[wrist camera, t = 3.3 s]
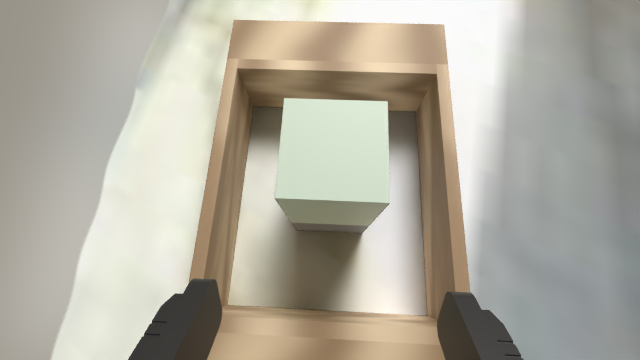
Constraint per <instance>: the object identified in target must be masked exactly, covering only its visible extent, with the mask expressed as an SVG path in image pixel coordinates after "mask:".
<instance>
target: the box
mask: <svg viewBox="0 0 640 360" xmlns="http://www.w3.org/2000/svg"><path fill="white" fill-rule="evenodd" d="M275 200H276V201H277V203H278V204H279V205H280V207H281V208H282V210H283V211H284V213H285V214H286V216H287V217H288V219H289V220H290V221H291V223H292V224H293V226H294V227H295V229H296V230H307V231H329V232H351V233H363V232H364V231H365V230H366V229H367V228H368V226H369V225H370V224H371V223H372V222H373V221H374V220H375V219H376V218H377V217H378V216H379V215H380V213H381V212H382V211H383V210H384V209H385V208H386V207H387V206H388V205H389V204H390V177H389V135H388V101H360V100H328V99H296V98H284V105H283V115H282V126H281V136H280V146H279V156H278V167H277V177H276V187H275Z"/></svg>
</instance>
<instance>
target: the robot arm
mask: <svg viewBox="0 0 640 360" xmlns="http://www.w3.org/2000/svg"><path fill="white" fill-rule="evenodd" d="M221 319H222V305H221V300H220V295H219V290H218V285H217V281H216V280H215V279H198V278H194V279H192V280H191V281H190V283H189V284H188V286H187V288H186V290H185V291H184V293H183V294H174V295H173V296H172V297H171V298H170V299H169V300H167V301H166V302H165V303H164V304H163V305H162V306H161V307H160V309H159V311H158V312H157V314H156V315H155V317H154V319H153V320H152V324H150V325H149V327H148V328H147V330H146V331H145V333H144V336H143V337H142V338H141V340H140V341H139V343H138V344H137V346H136V348H135V349H134V351H133V352H132V354H131V356H130V357H129V359H128V360H207V358H208V356H209V353H210V351H211V348H212V345H213V343H214V340H215V338H216V335H217V332H218V330H219V327H220V324H221ZM437 333H438V338H439V342H440V345H441V348H442V351H443V354H444V357H445V360H523V359H522V358H521V354H520V353H519V351H518V349H517V347H516V346H515V344H513V340H512V338H511V337H510V335H509V333H508V331H507V330H506V328H505V326H504V324H503V323H502V322H501V321H500V320H499V319H498V318H497V317H496V316H495V315H494V314H493V313H492V312H491V311H490V310H481V308H480V306H479V304H478V302H477V300H476V298H475V297H474V295H473V294H472V293H470V292H450V291H448V292H446V294H445V297H444V300H443V303H442V307H441V310H440V313H439V317H438V320H437Z"/></svg>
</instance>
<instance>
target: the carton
mask: <svg viewBox="0 0 640 360" xmlns="http://www.w3.org/2000/svg"><path fill="white" fill-rule="evenodd" d="M284 98H296V99H328V100H360V101H388V111H415V112H416V120H417V138H418V155H419V173H420V191H421V209H422V227H423V244H424V262H425V280H426V298H427V315H428V316H416V315H398V314H380V313H362V312H344V311H325V310H307V309H289V308H271V307H252V306H234V305H227V303H228V296H229V288H230V281H231V273H232V265H233V258H234V250H235V243H236V235H237V228H238V220H239V212H240V205H241V197H242V190H243V182H244V175H245V167H246V159H247V152H248V144H249V137H250V129H251V122H252V114H253V106H258V107H283V105H284ZM194 278H198V279H215V280H216V281H217V285H218V290H219V295H220V300H221V305H222V319H221V324H220V327H219V330H218V332H217V335H216V338H215V340H214V343H213V345H212V348H211V351H210V353H209V356H208V358H207V360H445V357H444V354H443V351H442V348H441V345H440V342H439V338H438V333H437V320H438V317H439V313H440V310H441V307H442V303H443V300H444V297H445V294H446V292H448V291H450V292H470V285H469V274H468V264H467V254H466V244H465V234H464V223H463V213H462V203H461V193H460V183H459V173H458V162H457V152H456V142H455V132H454V122H453V112H452V101H451V91H450V81H449V71H448V61H447V51H446V40H445V30H444V25H439V24H393V23H348V22H302V21H257V20H234V23H233V28H232V34H231V40H230V46H229V52H228V57H227V63H226V69H225V75H224V81H223V87H222V92H221V98H220V104H219V110H218V116H217V121H216V127H215V133H214V139H213V145H212V150H211V156H210V162H209V168H208V174H207V180H206V185H205V191H204V197H203V203H202V209H201V214H200V220H199V226H198V232H197V238H196V244H195V249H194V255H193V261H192V267H191V273H190V278H189V283H190V281H191V280H192V279H194Z"/></svg>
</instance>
